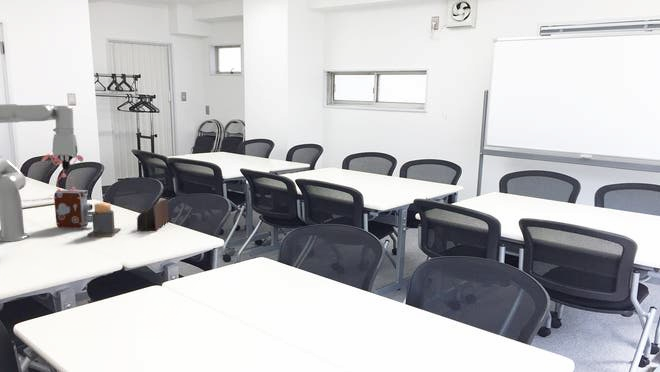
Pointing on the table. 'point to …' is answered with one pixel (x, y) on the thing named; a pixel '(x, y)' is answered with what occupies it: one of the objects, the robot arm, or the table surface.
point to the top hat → (103, 225)
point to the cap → (102, 208)
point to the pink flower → (61, 163)
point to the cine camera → (72, 209)
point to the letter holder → (153, 217)
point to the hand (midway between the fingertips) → (66, 169)
